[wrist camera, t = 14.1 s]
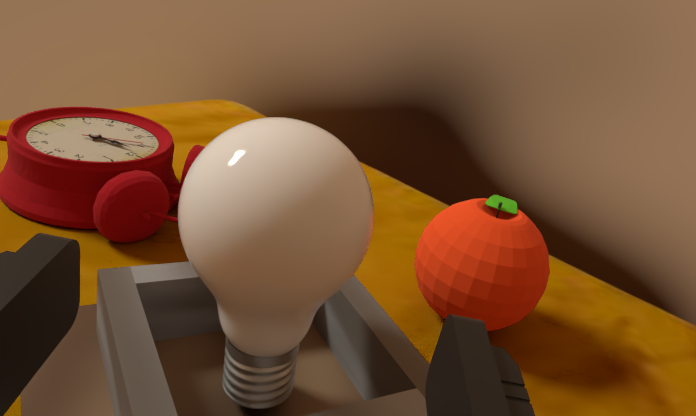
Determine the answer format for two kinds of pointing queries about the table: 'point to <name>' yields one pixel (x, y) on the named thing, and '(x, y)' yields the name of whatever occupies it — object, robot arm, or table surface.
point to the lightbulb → (272, 242)
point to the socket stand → (218, 355)
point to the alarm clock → (92, 171)
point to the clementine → (482, 262)
